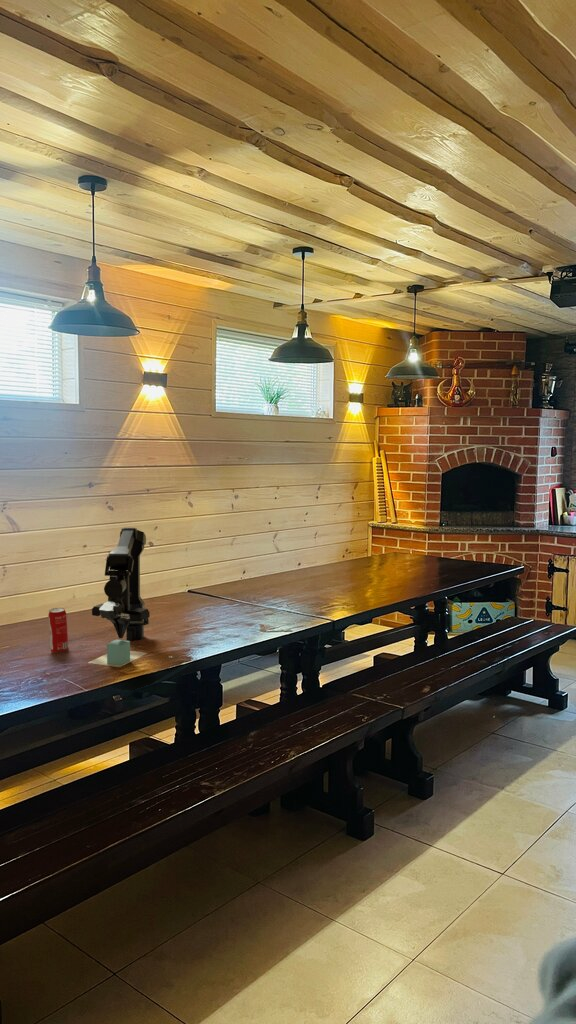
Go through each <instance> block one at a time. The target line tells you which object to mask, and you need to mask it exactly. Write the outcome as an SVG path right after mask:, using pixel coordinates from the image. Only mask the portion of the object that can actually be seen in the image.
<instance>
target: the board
mask: <svg viewBox="0 0 576 1024" xmlns="http://www.w3.org/2000/svg"><path fill="white" fill-rule="evenodd" d="M147 654H148V652H141V651H134V650H130V661H129V662H128V663H126V664H124V665H122V666H119V665H112V664H107V653H105V654H104V655H101V656H99V657H97V658H95V659H93V660H91V661H89V662H87V663H88V664H95V665H101V666H106V667H108V666H109V667H114V668H121V667H123V666H125V665H127V664H129V663H132V662H133V661H135V660H137V659H139V658H141V657H143V656H145V655H147Z"/></svg>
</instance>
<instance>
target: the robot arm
mask: <svg viewBox="0 0 576 1024" xmlns="http://www.w3.org/2000/svg"><path fill="white" fill-rule="evenodd" d="M146 544H147V537H146V534H145V532H144V531H142V530H139V529H137V528H136V527H122V528H121V530H120V533H119V540H118V543H117V545H116V547H115V548H113V549H111V550H110V551H109V553H108V555H107V556H106V560H105V562H106V563H105V570H104V576H105V577H106V576H107V577H108V576H109V580H108V581H107V582H106V583H105V584H104V587H103V591H104V594H105V595H106V597H107V601H106V602H104V603H99V604H96V605H94V606H92V609H91V616H93V617H101V619H106V620H108V621H110V623H112V625H113V626H114V629H115V632H116V634H117V636H118V638H119V639H123V638H124V636H125V635H126V636H125V637H126V640H125V641H130V642H135V641H140V640H143V639H144V637H145V629H144V628H145V626H147V625H149V623H150V622H149V619H150V618H151V617H150V610H149V608H145V607H146V606H145V602H144V600H143V599H142V597H141V554H142V553H143V551H144V550H145V546H146ZM125 633H126V634H125Z"/></svg>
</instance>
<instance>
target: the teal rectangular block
mask: <svg viewBox="0 0 576 1024" xmlns="http://www.w3.org/2000/svg"><path fill="white" fill-rule="evenodd" d="M130 651H131V641H127V640H122V639H114V640H112V641H109V642H108V643H106V654H107V664H112V665H119V666H121V667H123V666H125V665H127V664H129V663H130V662H129V661H130ZM128 662H129V663H128ZM126 663H127V664H126ZM124 664H125V665H124ZM122 665H123V666H122Z"/></svg>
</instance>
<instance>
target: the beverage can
mask: <svg viewBox="0 0 576 1024" xmlns="http://www.w3.org/2000/svg"><path fill="white" fill-rule="evenodd" d="M48 611H49V612H48V615H47V616H48V628H49V644H50V652H51V653H52V654H54V653H57V652H66V651H67V650H69V637H68V635H69V634H68V622H67V621H68V620H67V612H66V609H65V608H63V607H55V608H54V607H53V608H51V609H49V610H48Z"/></svg>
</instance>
